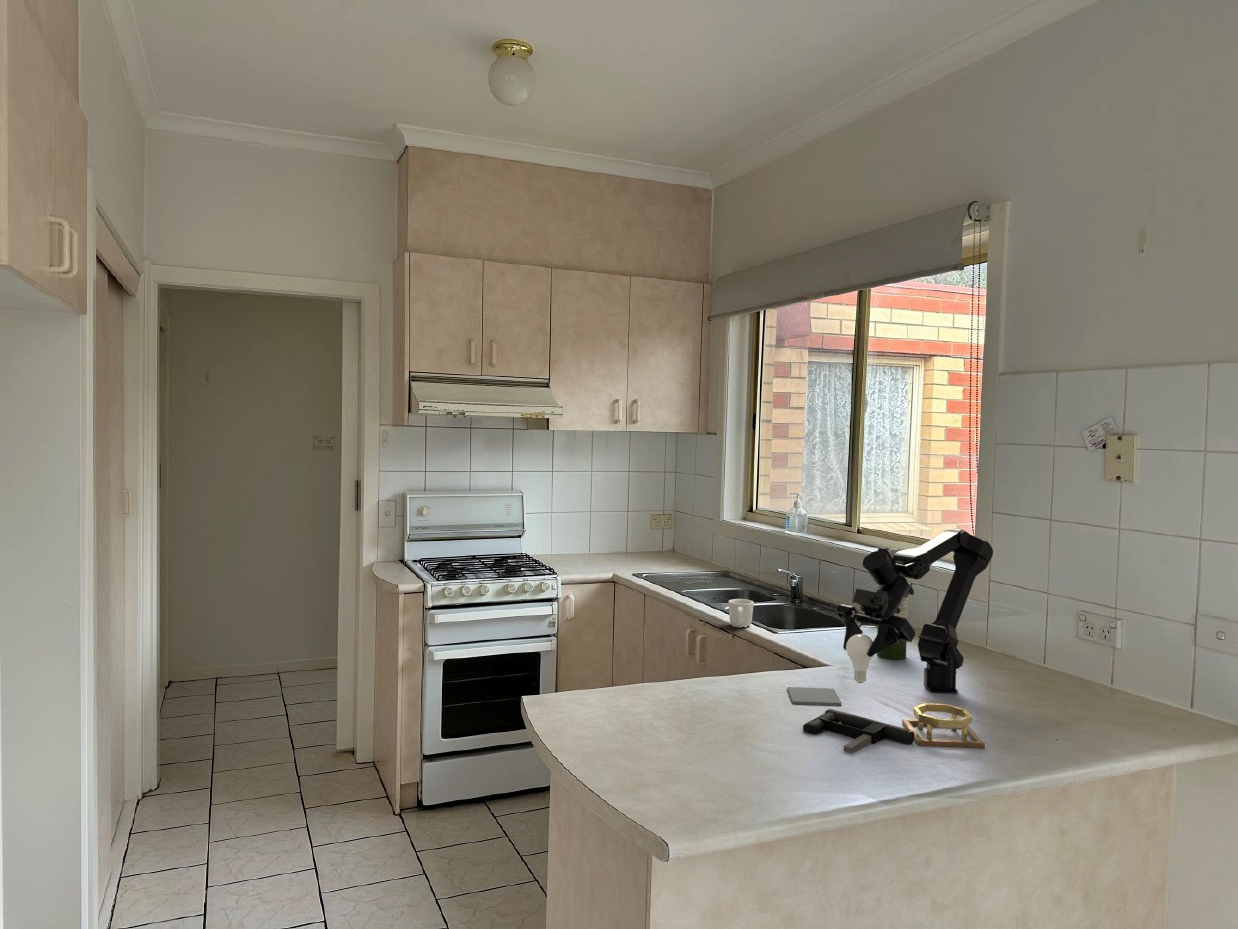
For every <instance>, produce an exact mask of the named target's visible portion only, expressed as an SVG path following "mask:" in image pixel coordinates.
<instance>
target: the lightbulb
mask: <svg viewBox="0 0 1238 929" xmlns="http://www.w3.org/2000/svg"><path fill="white" fill-rule="evenodd" d="M873 641H874V640H873V639H872V638H871V637H870V636H869V635H866V634H863V633H862V634H856V635H853V636H852V637H850V638H849V640H848V641H847V644H846V650H845V651H846V654H847V656H848V657H849V659H850V661H851V663H852V668H853V680H854V681H855V682H856V683H858V684H862V683H865V682H866V681H867V670H868V667H869V664H870V662H871V661H872V659H873V658H874V656H875V655H873V656H871V657H869V656H868V655H867V653H868V651H869V648H870V646H871V645H872V643H873Z"/></svg>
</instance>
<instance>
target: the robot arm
mask: <svg viewBox="0 0 1238 929" xmlns="http://www.w3.org/2000/svg"><path fill="white" fill-rule="evenodd" d="M950 553H953V556H952V559H953V562H954V568H955V569H954V571H953V575H952V577H951V580H950V582H949V585H948V587H947V589H946V592H945V595H944V597H943V600H942V603H941V606H940V607H939V610H938V612H937V616H936V617H935V619H934V621H933V622H932V623H928V622H927V623H926V622H925V623H924V625H923V627H922V630H921V632H920V634H919V636H918V640H917V648H918V653H919V657H920V662H924V663H926V667H924V669H923V685H924V686H925V687H926V689H927V690H928V691H930V692H932V693H955V694H956V693H958V692H959V691H958V689H957V688H956V686H957V669H958V670H959V669H960V668H961V667H963V664H964V659H965V657H964V656H963V654H962V653H961V652H960V650H959V649H958V645H959V644H958V643H959V639H958V634H957V630H956V629H957V626H958V624H959V621H960V618H961V616H962V613H963V611H964V609H965V605H966V603H967V600H968V597H969V595H970V592H971V590H972V587H973V585H974V582H975V579H976V577H977V576H978V575H980V574H981V573H982V572H984V571H985V570H986V569H987V568H988V566H989V564H990V562H991V560H992V558H993V555H994V549H993V547H992V546H991V544H990V542H989V541H987V540H983V539H981V538H979V537H977V536H975V535H972V534H970V533H969V532H968V531H966V530H965V529H959V528H958V529H957V528H953V527H952V528H947V529H945V530H943V533H941V534H938V535H937V536H936V537H934V538H932V539H931V540H929V541H927V542H925V543H923V544H922V545H920V546H917V547H916V548H909V549H903V550H899V552H897V553H895V554H894V555H893V557H891V555H890V553H889V549H887V548H885V547H879V548H878V549H877V550H876V551H872V552H870V553H869V554H868V555H865V557H864V558H863V560H862V566H863V568H864V570H866V572H867V574H868V576H870V578H871V579H872V580H873V582H874V583H875V584H876V585H878V586H880V585H881V586H880V588H879V587H878V589H879V590H878V589H877V590H876V591H871V590H868V589H867V590H866V589H860V588H855V590H854V591H855V592H854V595H853V598H852V601H851V602H852V603H854V604H858V605H860V607H859V609H860V610H861V612H864V614H863V613H862V614H861V613H859V611H858V609H856V607H855V606H853V605H847V604H845V603H844V604H843V603H842V604H841V603H840V604H839V605H838V606H837V607H836V609H835V610H834V613H835V614H836V616H837V618H839V620H840V621H841V623H842V624H843V625H844V626H845V633H844V634H845V635H844V640H843V641H844V642H843V646H842V647H843V650H844V651H846V644H847V641H848V640H849V638H850V637H852V636H853V635H856V634H863V633H864V631H863V630H862V629H861V627H862V625H863V624H864V625H868V626H873V627H876V628H877V627H879V631H878V634H876V636H875V638H874V640H873V643H872V645H871V646H870V648H869V651H868V653H867V655H868V656H869V657H871V656H873V655H874V656H875V655H877V653H878V652H880V651H881V650H883V649H885V648H887V647H889V646H891V645H893V644H895V643H897V642H898V643H900V642H901V640H903V641H907V643H912V642H913V640H914V638H915V637H916V630H915V628H914V627H913V626H912V624H911V622H909V620H908V618H907V619H906V618H903V617H899V616H894V614H895V613H896V614H899V613H900V611H901V610H900V609H899V605H900V604H901V602H902V600H903V599H904V597H905V595H906V594H908V595H910V596H913V595H914V594H915V591H914V588H913V583H912V582H909V581H908V580H907V578H908V579H913V580H920V579H922V578H923V577H924V576H925V575H926V574H928V573H929V572H930V570H931V566H932V565H933V564H934V563H935V562H937V561H939V560H941V559H942V558H944V557H945V556H946V555H948V554H950ZM900 639H901V640H900ZM874 656H873V657H874Z"/></svg>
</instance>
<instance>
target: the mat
mask: <svg viewBox="0 0 1238 929" xmlns="http://www.w3.org/2000/svg"><path fill="white" fill-rule="evenodd" d="M787 693H788V695H789V698H790V701H791V700H792V701H791V703H792V704H793V705H813V706H814V705H815V706H817V705H818V706H820V705H821V706H842V701H841V700H840V698H839V695H838V694H837V693H836V690H835V688H831V687H829V688H827V687H803V686H802V687H797V686H794V687H793V686H787Z"/></svg>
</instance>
